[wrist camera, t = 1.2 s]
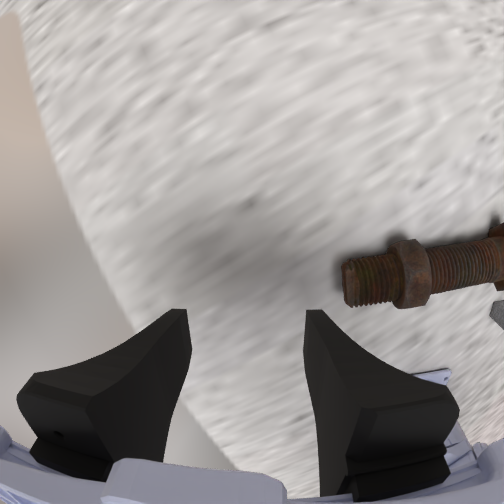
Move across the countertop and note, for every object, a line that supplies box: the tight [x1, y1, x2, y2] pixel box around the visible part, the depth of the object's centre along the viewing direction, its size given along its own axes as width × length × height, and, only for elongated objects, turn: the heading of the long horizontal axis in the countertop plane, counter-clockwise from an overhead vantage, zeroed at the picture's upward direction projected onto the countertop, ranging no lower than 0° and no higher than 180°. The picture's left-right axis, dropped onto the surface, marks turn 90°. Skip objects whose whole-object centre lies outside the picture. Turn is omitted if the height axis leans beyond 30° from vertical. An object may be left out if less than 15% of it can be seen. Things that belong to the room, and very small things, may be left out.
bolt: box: [341, 223, 504, 309], centre depth 19 cm, size 6×5×15 cm
